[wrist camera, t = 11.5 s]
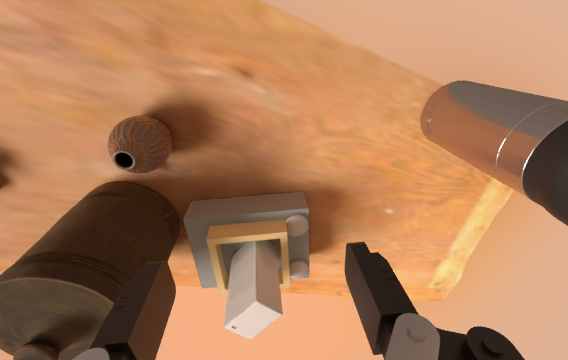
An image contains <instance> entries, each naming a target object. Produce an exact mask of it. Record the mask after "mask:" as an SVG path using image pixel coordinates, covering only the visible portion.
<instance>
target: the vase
mask: <svg viewBox="0 0 568 360" xmlns="http://www.w3.org/2000/svg"><path fill="white" fill-rule="evenodd" d="M108 151H109V154H110V156H111V158H112V160H113V163H114V164H115V165H116V166H117V167H118V168H120V169H122V170H126V171H129V172H133V173H147V172H150V171H153V170H155V169H157V168H159V167H160V166H162V165H163V164H164V163H165V162H166V161H167V159H168V158H169V156H170V154H171V151H172V137H171V134H170V132H169V131H168V129H167V128H166V126H165V125H164V124H162V123H161V122H160V121H158V120H156V119H154V118H152V117H148V116H133V117H130V118H127V119H125V120H123V121H121V122H120V123H118V124H117V125H116V126H115V127H114V129H113V130H112V132H111V134H110V136H109V139H108Z"/></svg>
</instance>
